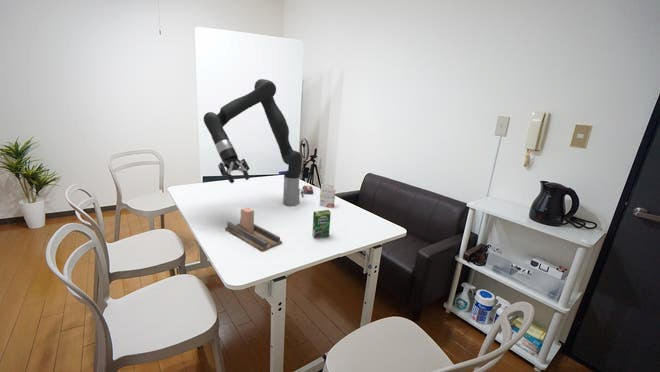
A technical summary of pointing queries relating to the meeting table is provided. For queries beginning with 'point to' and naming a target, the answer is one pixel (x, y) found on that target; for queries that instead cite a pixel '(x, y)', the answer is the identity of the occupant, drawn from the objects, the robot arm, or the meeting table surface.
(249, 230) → the light orange-brown block
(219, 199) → the meeting table surface
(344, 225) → the meeting table surface
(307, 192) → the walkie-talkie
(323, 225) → the coffee box
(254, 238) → the door track
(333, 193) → the ink cartridge box
